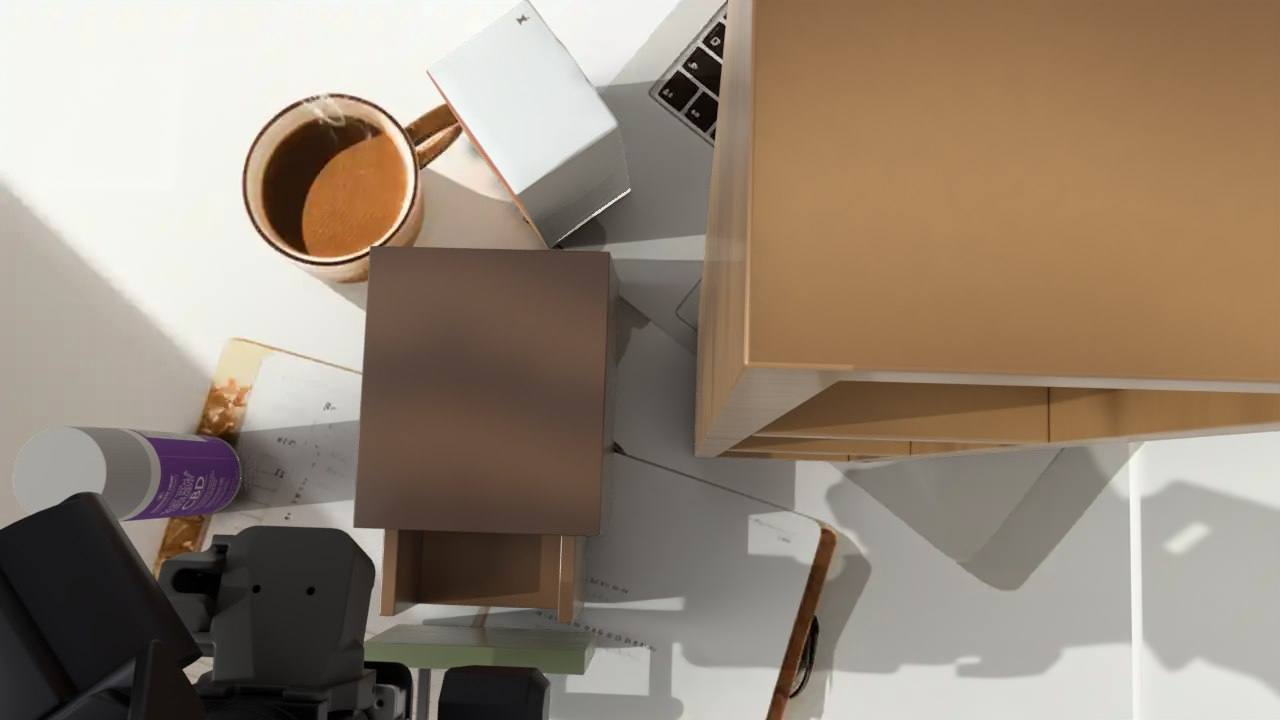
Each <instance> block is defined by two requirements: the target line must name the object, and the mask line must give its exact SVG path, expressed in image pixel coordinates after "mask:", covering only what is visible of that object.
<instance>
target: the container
mask: <svg viewBox="0 0 1280 720" xmlns="http://www.w3.org/2000/svg"><path fill="white" fill-rule="evenodd" d="M237 457H238V458H237ZM238 459H239V460H238ZM14 460H15V461H14V464H13V468H12V477H11V478H12V479H11V480H12V481H11V482H12V487H13V492H14V496H15V498H16V500H17V501H18V503H19V505H20V506H21V508H22V509H23V510H24V511H25V512H26V513H27V514H28V515H29V516H30V515H32V514H34V513H36V512H39V511H41V510H44V509H47V508H49V507H52V506H55V505H58V504H59V503H61V502H62V501H64V500H65V499H67V498H68V497H70V496H71V495H74V494H76V493H79V492H95V493H99V494H100V495H101V496H102V497H103V498H104V500H105V501H106V503H107V505H108V506H109V508H110V509H111V511H112V512H113V514H114V515H115V517H116V519H117V520H118V522H119V523H120V522H123V523H124V522H132V521H133V522H134V521H145V520H157V519H168V518H169V519H170V518H181V517H192V516H193V517H195V516H203V515H204V516H205V515H211V514H214V513H217V512H219V511H221V510H223V509H225V508H226V507H228V506H229V505H230V504H231V503H232V502H233V500H234V499H235V498H236V496H237V495H238V493H239V491H240V489H241V486H242V483H243V477H244V476H243V475H244V472H243V470H244V469H243V465H242V461H241V458H240V456H239V454H238V453H237V450H235V449H234V447H233V446H232V445H231V444H230V443H229V442H227V441H225V440H224V439H222V438H219V437H216V436H213V435H205V434H195V433H194V434H192V433H182V432H171V431H170V432H169V431H158V430H148V429H147V430H146V429H137V428H125V427H124V428H122V427H97V426H72V425H71V426H68V425H67V426H66V425H59V426H53V427H49V428H46V429H42V430H41V431H39V432H37V433H35V434H34V435H33V436H32V437H30V438H29V439H28V440H27V441H26V442H25V443H24V444H23V446H22V447H21V449H20V450H19V452H18V453H17V455H16V458H15V459H14ZM240 478H241V479H240Z"/></svg>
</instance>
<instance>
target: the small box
mask: <svg viewBox="0 0 1280 720" xmlns="http://www.w3.org/2000/svg"><path fill="white" fill-rule="evenodd" d="M426 74H427V76H428V77H429V79H430V80H431V83H432V84H433V85H434V86H435V88H436V89H437V91H438V92H439V94H440V95H441V97H442V98H443V100H444V102H445V103H446V105H447V106H448V108H449V109H450V111H451V113H452V115H453V116H454V117H455V119H456V120H457V122H458V123H459V125H460V126H461V128H462V130H463V132H464V133H465V135H466V137H467V139H468V140H469V142H470V143H471V144H472V146H473V147H474V149H475V150H476V152H477V153H478V154H479V155H480V157H481V159H483V161H484V162H485V163H486V165H487V166H488V168H489V169H490V171H491V172H492V173H493V174H494V176H495V177H496V179H497V180H498V182H499V183H500V184H501V185H502V187H503V188H504V189H505V191H506V192H507V194H508V195H509V196H510V198H511V199H512V201H513V202H514V203H515V205H516V206H517V207H518V209H519V211H520V212H521V213H522V215H523V216H524V217H525V219H526V220H527V221H528V222H529V224H530V226H531V227H532V228H533V230H534V231H535V233H536V234H537V235H538V237H539V238H540V240H541V241H542V243H543V244H544V246H545V247H546V248H547V249H548V250H551V248H554V247H555V246H556V245H557V244H556V242H557V241H558V240H559V239H561V238H562V237H563V236H564V235H566V234H567V233H568V232H569V231H571V230H572V229H574V228H575V227H576V226H577V225H578V224H580V223H581V222H583V221H584V220H585V219H587V218H588V217H589V216H591V215H592V214H594V213H595V212H596V211H598V210H599V209H601V208H602V207H604V206H605V205H607V204H608V203H609V202H611V201H612V200H614V199H615V198H617V197H618V196H619V195H621V194H622V193H624V192H626V191H627V190H628V189H629V188H630V186H631V181H630V177H629V172H628V166H627V160H626V154H625V149H624V144H623V139H622V134H621V128H620V123H619V121H618V119H617V118H616V116H615V115H614V114H613V112H612V111H611V110H610V107H608V105H607V104H606V102H605V101H604V100H603V98H602V96H601V95H600V94H599V92H598V91H597V89H596V88H595V87H594V86H593V84H592V82H591V81H590V79H589V78H588V77H587V75H586V74H585V72H584V71H583V70H582V68H581V67H580V65H579V64H578V62H577V61H576V59H575V58H574V56H573V55H572V54H571V53H570V51H569V50H568V49H567V46H565V44H563V42H562V41H561V40H560V38H558V36H557V35H556V34H555V32H554V31H553V30H552V29H551V28H550V26H549V25H548V24H547V22H546V21H545V19H544V18H543V17H542V15H541V14H540V13H539V12H538V11H537V9H536V8H535V6H534V5H533V4H532V2H531V1H530V0H522V1H521V2H520V3H518V4H517V5H515V6H514V7H513V8H511V9H510V10H509V11H507V12H506V13H504V14H503V15H501V16H500V17H498V18H497V19H495V21H493V22H491V23H489V24H488V25H487V26H485V27H484V28H483V29H481V30H480V31H478V32H477V33H476V34H474V35H473V36H472V37H470V38H469V39H468V40H466V41H464V42H463V43H462V44H461V45H459V46H457V47H456V48H455V49H453V50H452V51H449V53H448V54H445V56H443V57H442V58H440V59H439V60H438V61H436V62H435V63H434V64H432V65H430V66H429V67H428V68H426Z"/></svg>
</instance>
